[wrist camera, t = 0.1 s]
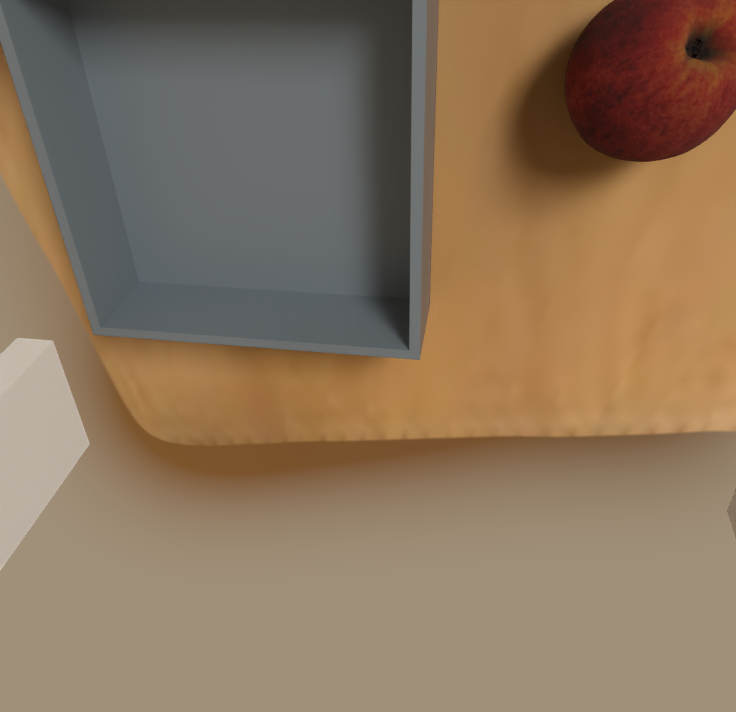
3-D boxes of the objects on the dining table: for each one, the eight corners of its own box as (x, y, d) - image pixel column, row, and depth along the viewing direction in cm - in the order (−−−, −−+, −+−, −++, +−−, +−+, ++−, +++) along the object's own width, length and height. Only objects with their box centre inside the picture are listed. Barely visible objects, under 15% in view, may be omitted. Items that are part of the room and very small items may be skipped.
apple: (758, 62, 33) (816, 114, 27) (611, 161, 37) (631, 227, 31) (679, -74, 31) (723, -52, 24) (530, 48, 34) (534, 94, 28)
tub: (47, -55, 35) (-25, -39, 31) (440, -61, 32) (427, -45, 28) (135, 285, 47) (93, 334, 42) (429, 304, 44) (419, 359, 39)
